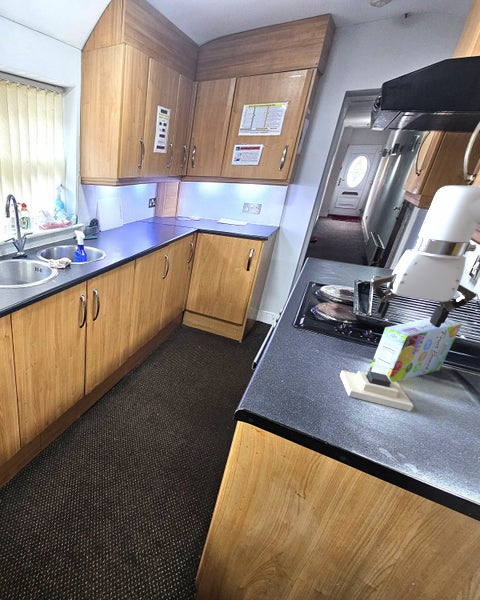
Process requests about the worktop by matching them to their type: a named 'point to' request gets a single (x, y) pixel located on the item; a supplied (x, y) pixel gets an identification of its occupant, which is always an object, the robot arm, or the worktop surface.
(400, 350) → the snack box
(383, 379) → the dark grey square block
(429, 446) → the worktop surface
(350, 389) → the cream stepped base
